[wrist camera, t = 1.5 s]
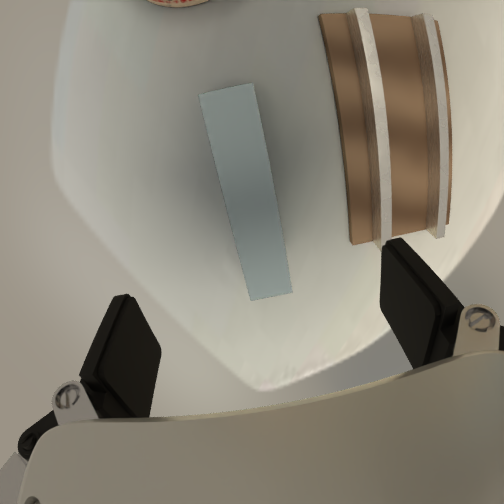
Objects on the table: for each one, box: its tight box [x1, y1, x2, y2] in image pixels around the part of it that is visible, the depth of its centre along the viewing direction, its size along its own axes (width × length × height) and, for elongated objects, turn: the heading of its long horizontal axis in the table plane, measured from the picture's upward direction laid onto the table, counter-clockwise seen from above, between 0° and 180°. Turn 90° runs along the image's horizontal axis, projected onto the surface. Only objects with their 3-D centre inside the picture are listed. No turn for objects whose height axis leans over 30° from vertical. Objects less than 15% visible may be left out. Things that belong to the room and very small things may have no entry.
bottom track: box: [318, 8, 452, 252], centre depth 21 cm, size 20×11×3 cm, turn 12°
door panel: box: [198, 83, 293, 301], centre depth 21 cm, size 14×3×7 cm, turn 12°
